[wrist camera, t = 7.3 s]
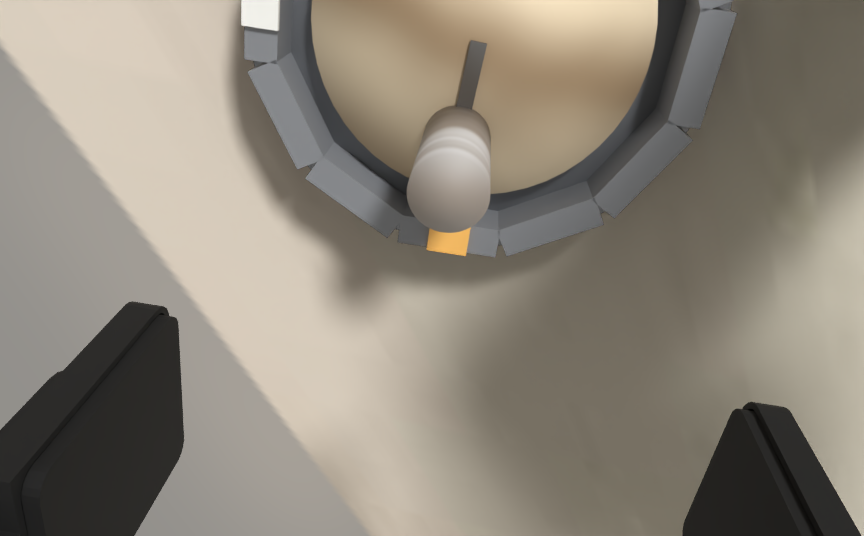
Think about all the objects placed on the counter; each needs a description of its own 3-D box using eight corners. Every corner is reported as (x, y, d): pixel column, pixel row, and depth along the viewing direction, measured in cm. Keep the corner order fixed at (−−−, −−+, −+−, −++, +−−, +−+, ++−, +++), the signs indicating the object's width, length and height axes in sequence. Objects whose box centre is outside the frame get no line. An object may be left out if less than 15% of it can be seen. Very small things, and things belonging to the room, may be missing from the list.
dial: (341, -206, 23) (285, -250, 17) (705, -120, 23) (784, -133, 17) (299, 150, 28) (246, 215, 22) (591, 214, 29) (619, 296, 23)
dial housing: (794, -218, 23) (844, -240, 20) (645, 259, 31) (663, 300, 28) (260, -298, 23) (222, -333, 20) (253, 199, 31) (225, 232, 28)
